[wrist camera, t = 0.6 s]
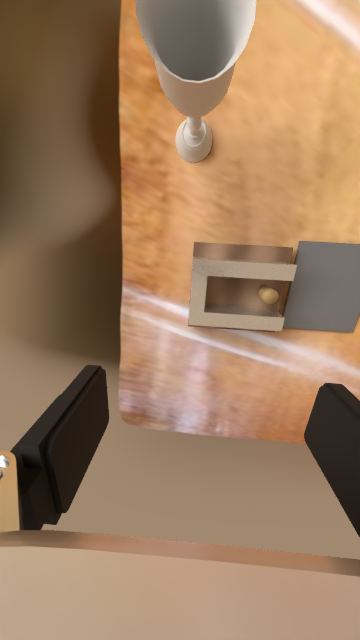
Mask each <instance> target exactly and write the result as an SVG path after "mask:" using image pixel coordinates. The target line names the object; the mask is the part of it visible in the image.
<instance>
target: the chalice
mask: <svg viewBox="0 0 360 640" xmlns="http://www.w3.org/2000/svg"><path fill="white" fill-rule="evenodd" d="M135 2H136V14H137V18H138V22H139V26H140V30H141V34H142V37H143V39H144V41H145V43H146V45H147V47H148V49H149V51H150V53H151V55H152V57H153V58H154V59H155V63H156V68H157V72H158V76H159V81H160V85H161V87H162V89H163V91H164V93H165V95H166V97H167V99H168V100H169V101H170V102H171V103H172V104H173V105H174V106H175V107H176V108H177V110H178V111H179V112H180V113H182V114H184V115H186V116H187V119H186V120H185V121H184V122H182V123H181V125H180V126H179V128H178V130H177V134H176V147H177V151H178V152H179V154H180V156H181V157H182V158H183V159H184V160H186V161H188V162H199V161H201V160H203V159H204V158H205V157H206V156H207V155H208V153H209V152H210V150H211V147H212V141H213V136H212V131H211V129H210V126H209V125H208V123H207V122H206V121H205V120H203V119H202V118H201V117H202V116H205V115H206V114H208V113H209V112H210V111H212V110H213V109H214V108H215V107H216V106H217V105H219V103H220V102H221V100H222V99H223V97H224V96H225V94H226V93H227V91H228V88H229V85H230V82H231V79H232V75H233V71H234V66H235V62H236V60H237V59H238V57H239V56H240V54H241V53H242V51H243V50H244V48H245V47H246V44H247V41H248V38H249V35H250V33H251V30H252V27H253V24H254V20H255V10H256V0H135Z"/></svg>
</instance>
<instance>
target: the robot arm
mask: <svg viewBox="0 0 360 640" xmlns="http://www.w3.org/2000/svg"><path fill="white" fill-rule="evenodd" d="M108 422H109V409H108V396H107V384H106V371H105V370H104V369H102V367H101V366H97V365H87V366H85V368H84V369H83V370H82V371H81V372H80V373H79V375H78V376H77V377H76V378H75V379H74V380H73V381H72V383H71V384H70V385H69V386H68V387H67V388H66V390H65V391H64V392H63V393H62V394H61V395H59V396H58V397H57V398H56V399H55V401H54V402H53V403H52V404H51V405H50V406H49V407H48V409H47V410H46V411H45V412H44V413H43V414H42V415H41V417H40V418H39V419H38V420H37V421H36V422H35V423H34V425H33V426H32V427H31V428H30V429H29V430H28V431H27V433H26V434H25V435H24V436H23V437H22V438H21V439H20V441H19V442H18V443H17V444H16V445H15V446H14V448H13V449H12V450H11V451H5V450H1V451H0V640H360V560H357V559H347V558H339V557H330V556H319V555H311V554H301V553H292V552H282V551H272V550H262V549H252V548H243V547H232V546H223V545H213V544H203V543H192V542H182V541H172V540H160V539H151V538H140V537H130V536H118V535H109V534H94V533H81V532H68V531H54V530H41V528H42V526H43V524H52V525H56V524H57V522H58V520H59V518H60V516H61V514H62V513H66V512H67V511H68V509H69V507H70V505H71V503H72V501H73V499H74V497H75V494H76V492H77V490H78V488H79V485H80V483H81V481H82V479H83V477H84V475H85V473H86V471H87V469H88V466H89V464H90V462H91V460H92V458H93V456H94V453H95V451H96V449H97V447H98V444H99V442H100V440H101V438H102V436H103V434H104V432H105V430H106V427H107V425H108ZM304 438H305V442H306V444H307V446H308V447H309V449H310V451H311V452H312V454H313V456H314V458H315V460H316V461H317V463H318V465H319V467H320V468H321V470H322V472H323V474H324V475H325V477H326V479H327V481H328V483H329V484H330V486H331V488H332V490H333V491H334V493H335V495H336V497H337V498H338V500H339V502H340V504H341V505H342V507H343V509H344V511H345V512H346V514H347V516H348V518H349V519H350V521H351V523H352V525H353V526H354V528H355V530H356V532H357V534H358V535H359V537H360V401H359V400H358V399H357V398H356V397H355V396H354V395H353V394H352V393H351V392H350V391H349V390H348V389H347V388H346V387H345V386H343V385H342V384H334V383H325V384H324V385H323V386H321V387H320V388H319V391H318V394H317V397H316V400H315V403H314V406H313V409H312V412H311V415H310V418H309V421H308V424H307V427H306V430H305V433H304Z"/></svg>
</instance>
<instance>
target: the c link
mask: <svg viewBox="0 0 360 640" xmlns="http://www.w3.org/2000/svg"><path fill="white" fill-rule="evenodd" d="M296 268H297V265H294V264H290V263H285V262H275V261H258V260H241V259H224V258H207V257H193V267H192V281H191V296H190V310H189V325H199V326H213V327H227V328H242V329H256V330H270V331H282V328H283V323H284V319H285V318H284V317H283V316H282V315H281V314H280V313H278V312H277V311H276V310H275V309H274V308H262V307H247V306H232V305H217V304H205V297H206V286H207V276H218V277H235V278H251V279H267V280H283V281H294V276H295V272H296Z"/></svg>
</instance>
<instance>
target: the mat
mask: <svg viewBox="0 0 360 640" xmlns="http://www.w3.org/2000/svg"><path fill="white" fill-rule="evenodd" d="M294 265H297V268H296V272H295V276H294V281H290V285H289V289H288V294H287V298H286V302H285V307H284V311H283V315H282V316H283V317H284V318H285V319H284V323H283V328H295V329H310V330H324V331H339V332H353V330H354V328H355V325H356V322H357V319H358V317H359V314H360V244H345V243H327V242H309V241H299V246H298V250H297V254H296V259H295V263H294Z"/></svg>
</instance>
